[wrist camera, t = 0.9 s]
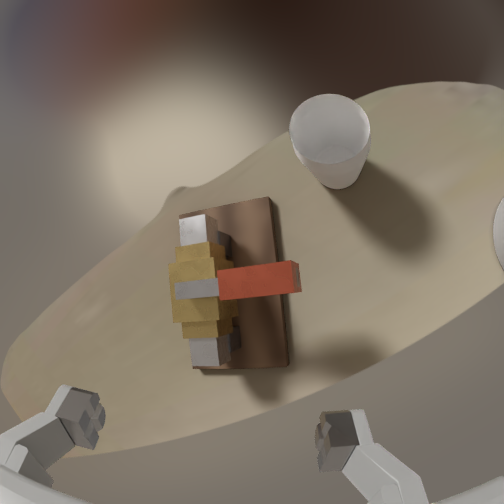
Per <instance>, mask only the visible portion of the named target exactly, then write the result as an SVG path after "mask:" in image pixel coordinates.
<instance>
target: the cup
mask: <svg viewBox="0 0 504 504" xmlns="http://www.w3.org/2000/svg"><path fill="white" fill-rule="evenodd" d="M289 133H290V138H291V141H292V143H293V147H294V150H295V153H296V155H297V157H298V158H299V160H300V161H301V162H302V163H303V165H304V166H305V167H306V168H307V169H308V170H309V171H310V172H311V173H312V174H313V175H314V176H315V177H316V178H317V179H318V180H319V181H320V182H321V183H322V184H323V185H325V186H326V187H329V188H332V189H343V188H346V187H348V186H350V185H352V184H353V183H354V182H355V181H356V180H357V178H358V176H359V174H360V172H361V170H362V167H363V165H364V163H365V161H366V158H367V156H368V153H369V150H370V146H371V134H370V125H369V120H368V117H367V115H366V113H365V112H364V110H363V109H362V108H361V107H360V106H359V105H358V104H357V103H356V102H354V101H353V100H351V99H349V98H347V97H344V96H341V95H337V94H323V95H318V96H315V97H312V98H310V99H308V100H306V101H305V102H303V103H302V104H301V105H300V106H299V107H298V108H297V109H296V110H295V112H294V113H293V115H292V117H291V120H290V125H289Z"/></svg>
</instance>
